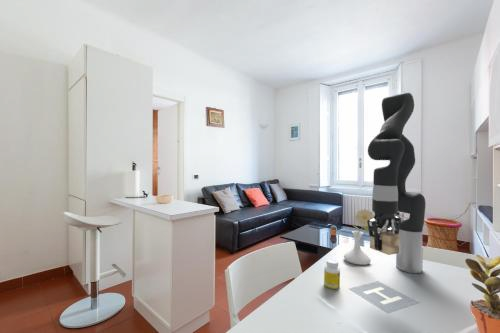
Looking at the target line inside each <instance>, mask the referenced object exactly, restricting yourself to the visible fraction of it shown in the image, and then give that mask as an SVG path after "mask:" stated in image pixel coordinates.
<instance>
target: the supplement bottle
mask: <svg viewBox="0 0 500 333" xmlns="http://www.w3.org/2000/svg"><path fill="white" fill-rule="evenodd" d="M340 280H341V270H340V267H339V261H338V260H336V259H333V258H329V259H326V265H325V266H324V268H323V287H324V288H325V289H327V290H329V291H339V290H340V289H341V287H340V285H341V284H340V283H341V281H340Z"/></svg>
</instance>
